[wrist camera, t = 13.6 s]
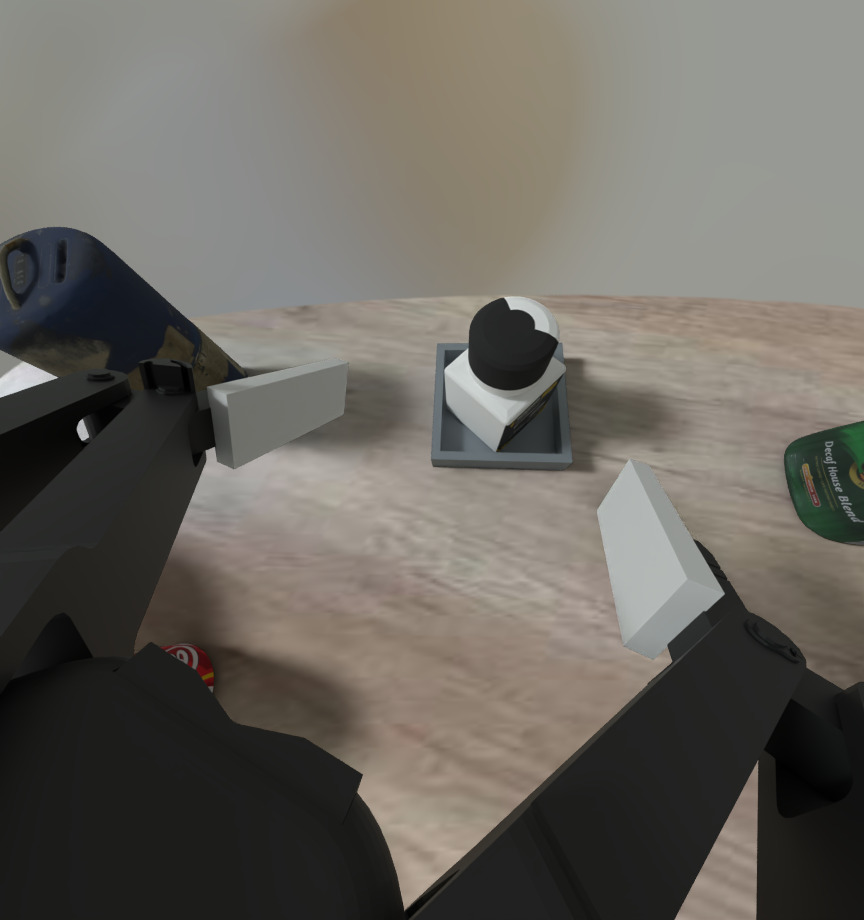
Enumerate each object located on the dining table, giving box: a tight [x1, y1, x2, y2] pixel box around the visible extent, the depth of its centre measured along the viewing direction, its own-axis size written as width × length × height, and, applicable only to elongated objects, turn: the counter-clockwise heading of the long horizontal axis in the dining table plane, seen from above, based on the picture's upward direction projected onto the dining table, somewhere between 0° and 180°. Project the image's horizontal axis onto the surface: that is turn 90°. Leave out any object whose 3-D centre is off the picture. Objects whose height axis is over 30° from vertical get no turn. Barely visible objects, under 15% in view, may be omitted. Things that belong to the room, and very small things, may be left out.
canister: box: [0, 227, 248, 392], centre depth 27 cm, size 10×10×18 cm
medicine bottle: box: [444, 296, 566, 452], centre depth 26 cm, size 7×7×12 cm
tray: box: [431, 343, 573, 470], centre depth 31 cm, size 13×13×2 cm
